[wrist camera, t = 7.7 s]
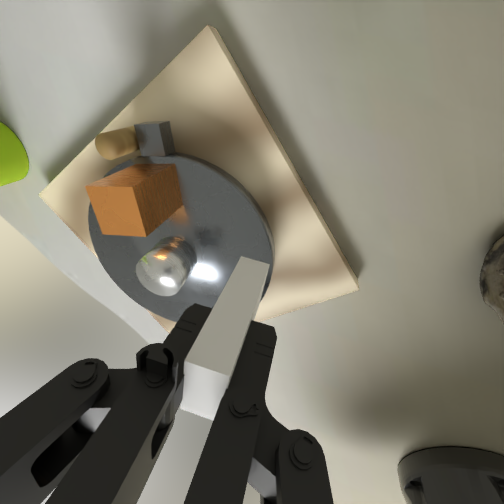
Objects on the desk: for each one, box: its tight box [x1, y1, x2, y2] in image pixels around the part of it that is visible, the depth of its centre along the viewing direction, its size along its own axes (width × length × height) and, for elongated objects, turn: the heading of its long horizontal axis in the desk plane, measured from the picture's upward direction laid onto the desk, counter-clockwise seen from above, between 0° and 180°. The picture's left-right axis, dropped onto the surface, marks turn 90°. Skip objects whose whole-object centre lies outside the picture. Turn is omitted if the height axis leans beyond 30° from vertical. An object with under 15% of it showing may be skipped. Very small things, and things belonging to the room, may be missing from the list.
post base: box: [39, 25, 359, 333], centre depth 24 cm, size 22×22×6 cm
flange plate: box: [85, 121, 275, 322], centre depth 21 cm, size 18×16×6 cm
